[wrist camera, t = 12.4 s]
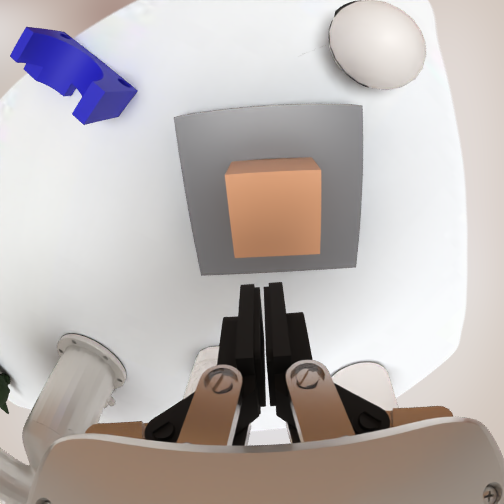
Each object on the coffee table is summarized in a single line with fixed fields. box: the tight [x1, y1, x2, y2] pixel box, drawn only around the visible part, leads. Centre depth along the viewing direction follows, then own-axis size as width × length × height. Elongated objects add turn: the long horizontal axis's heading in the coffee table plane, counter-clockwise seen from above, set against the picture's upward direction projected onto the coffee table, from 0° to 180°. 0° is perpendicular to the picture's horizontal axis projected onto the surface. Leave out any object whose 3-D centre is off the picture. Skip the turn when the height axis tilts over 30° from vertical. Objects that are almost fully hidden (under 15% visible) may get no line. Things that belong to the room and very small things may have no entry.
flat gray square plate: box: [174, 104, 363, 276], centre depth 24 cm, size 14×14×3 cm
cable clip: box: [10, 27, 137, 125], centre depth 18 cm, size 12×4×6 cm, turn 45°
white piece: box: [304, 0, 426, 90], centre depth 16 cm, size 10×7×7 cm
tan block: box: [225, 157, 321, 258], centre depth 22 cm, size 6×6×7 cm
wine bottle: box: [331, 362, 398, 411], centre depth 25 cm, size 10×10×30 cm
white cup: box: [183, 346, 219, 399], centre depth 33 cm, size 8×8×10 cm
